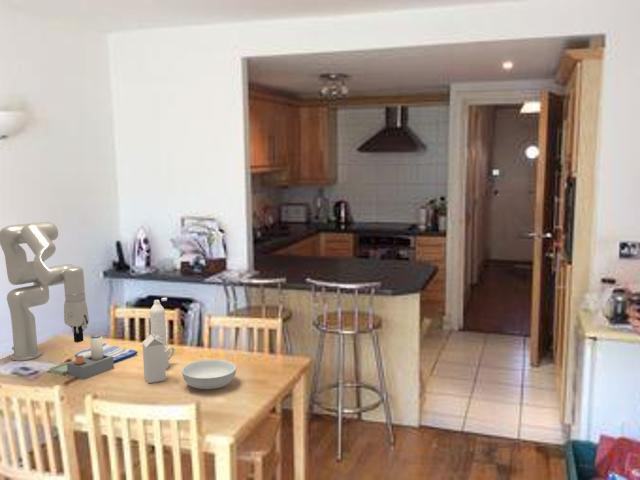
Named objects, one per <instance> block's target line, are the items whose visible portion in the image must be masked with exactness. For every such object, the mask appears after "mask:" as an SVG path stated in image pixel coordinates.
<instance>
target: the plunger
mask: <svg viewBox="0 0 640 480" xmlns="http://www.w3.org/2000/svg"><path fill="white" fill-rule="evenodd" d="M75 361H76V365H77V366H80V365H83V364H84V358H83V356H82V355H80V356H76V357H75Z"/></svg>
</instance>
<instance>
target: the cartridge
mask: <svg viewBox="0 0 640 480" xmlns="http://www.w3.org/2000/svg"><path fill="white" fill-rule="evenodd" d="M89 343H90V348H91V360H93V361H98V360H101V359H104V357H103V344H104V342H103V336H102V334H101V333H93V334H91V335H90V337H89Z"/></svg>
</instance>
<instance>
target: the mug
mask: <svg viewBox="0 0 640 480" xmlns="http://www.w3.org/2000/svg"><path fill="white" fill-rule="evenodd" d="M166 346H167V345H166ZM166 346H164V351H165V371H166V370H167V369H169V367H170V363H169V361H170V359H171V358H172V357H173V355H174V353H175V348H174V347H173V346H171V345H170V346H168V347H166ZM170 349H171V353H170V355H169V352H170V351H169V350H170Z"/></svg>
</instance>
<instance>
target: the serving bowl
mask: <svg viewBox="0 0 640 480" xmlns="http://www.w3.org/2000/svg"><path fill="white" fill-rule="evenodd" d="M236 373H237V366H236V364H235V363H234V362H231V361H229V360H225V359H203V360H197V361H193V362H190V363H188V364H186V365H185V366H183V367H182V369H181V374H182V377H183V380H184V381H185V382H186V384H187V385H188V386H190V387H193V388H195V389H200V390H213V389H218V388H222V387H224V386H226V385H229V383H231V382H232V381H233V380H234V377H235V376H236Z"/></svg>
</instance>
